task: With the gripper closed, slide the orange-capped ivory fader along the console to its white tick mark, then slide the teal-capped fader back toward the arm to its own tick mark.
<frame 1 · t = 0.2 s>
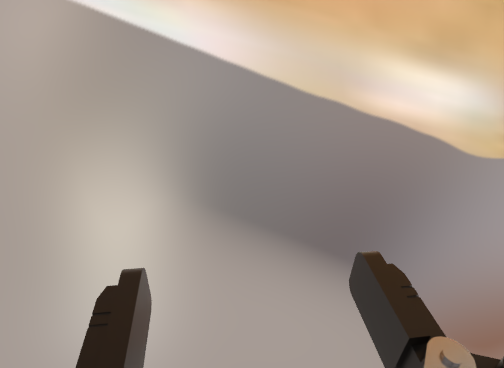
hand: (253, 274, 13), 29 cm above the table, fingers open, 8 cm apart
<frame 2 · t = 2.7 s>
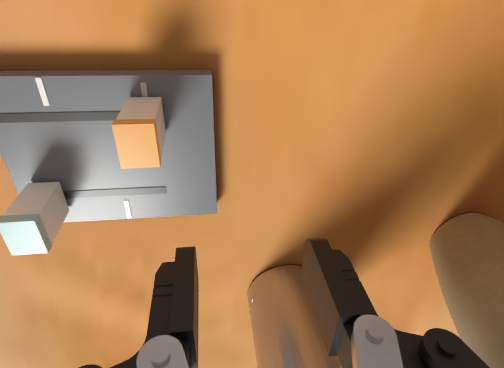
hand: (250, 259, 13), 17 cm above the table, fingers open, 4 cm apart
fader a: (142, 130, 23), point 4 cm above the table, slide at 0.0 cm
plant pot: (456, 235, 41), on the table
console: (117, 147, 28), on the table
fader b: (37, 216, 26), point 4 cm above the table, slide at 9.0 cm
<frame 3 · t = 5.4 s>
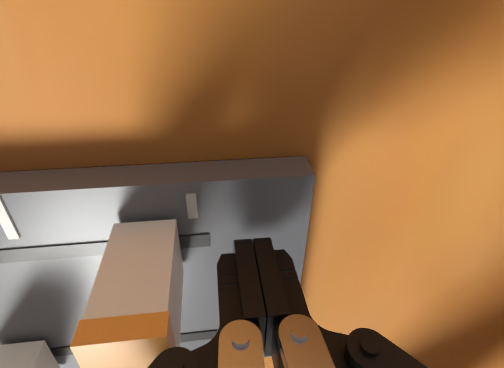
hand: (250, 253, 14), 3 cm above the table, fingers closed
fader a: (142, 299, 12), point 4 cm above the table, slide at 1.9 cm, touching gripper
console: (138, 274, 17), on the table
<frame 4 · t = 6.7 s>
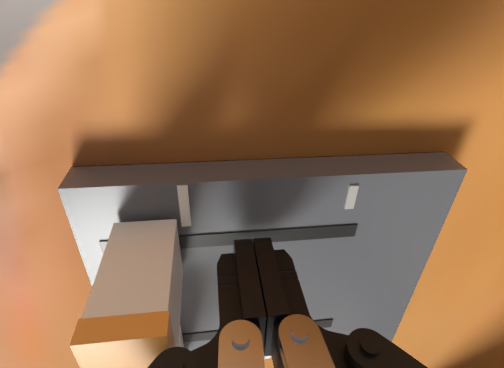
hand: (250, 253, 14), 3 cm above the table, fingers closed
fader a: (141, 299, 12), point 4 cm above the table, slide at 8.5 cm, touching gripper
console: (264, 263, 18), on the table
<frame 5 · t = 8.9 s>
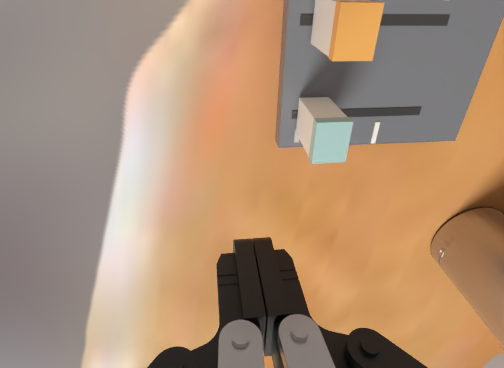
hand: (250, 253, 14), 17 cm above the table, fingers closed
fader a: (342, 26, 21), point 4 cm above the table, slide at 8.6 cm
console: (378, 64, 27), on the table
fader b: (321, 128, 25), point 4 cm above the table, slide at 9.0 cm
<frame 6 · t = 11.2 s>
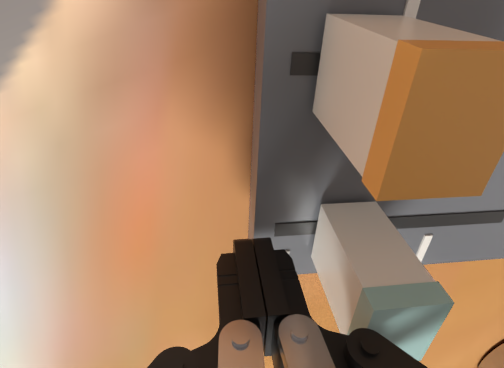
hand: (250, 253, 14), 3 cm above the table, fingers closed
fader a: (393, 91, 9), point 4 cm above the table, slide at 8.6 cm
console: (435, 136, 15), on the table
fader b: (366, 275, 13), point 4 cm above the table, slide at 7.6 cm, touching gripper
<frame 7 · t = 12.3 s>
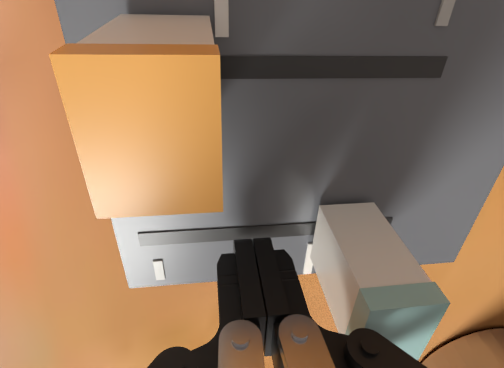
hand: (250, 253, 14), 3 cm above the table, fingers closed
fader a: (163, 98, 8), point 4 cm above the table, slide at 8.6 cm
console: (309, 141, 14), on the table
fader b: (364, 275, 13), point 4 cm above the table, slide at 1.9 cm, touching gripper
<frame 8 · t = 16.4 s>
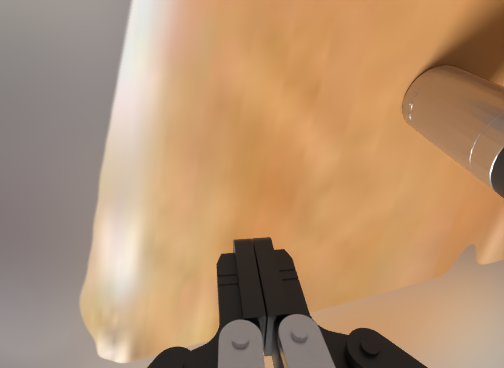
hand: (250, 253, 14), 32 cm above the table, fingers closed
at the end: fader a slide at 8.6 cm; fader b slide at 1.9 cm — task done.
